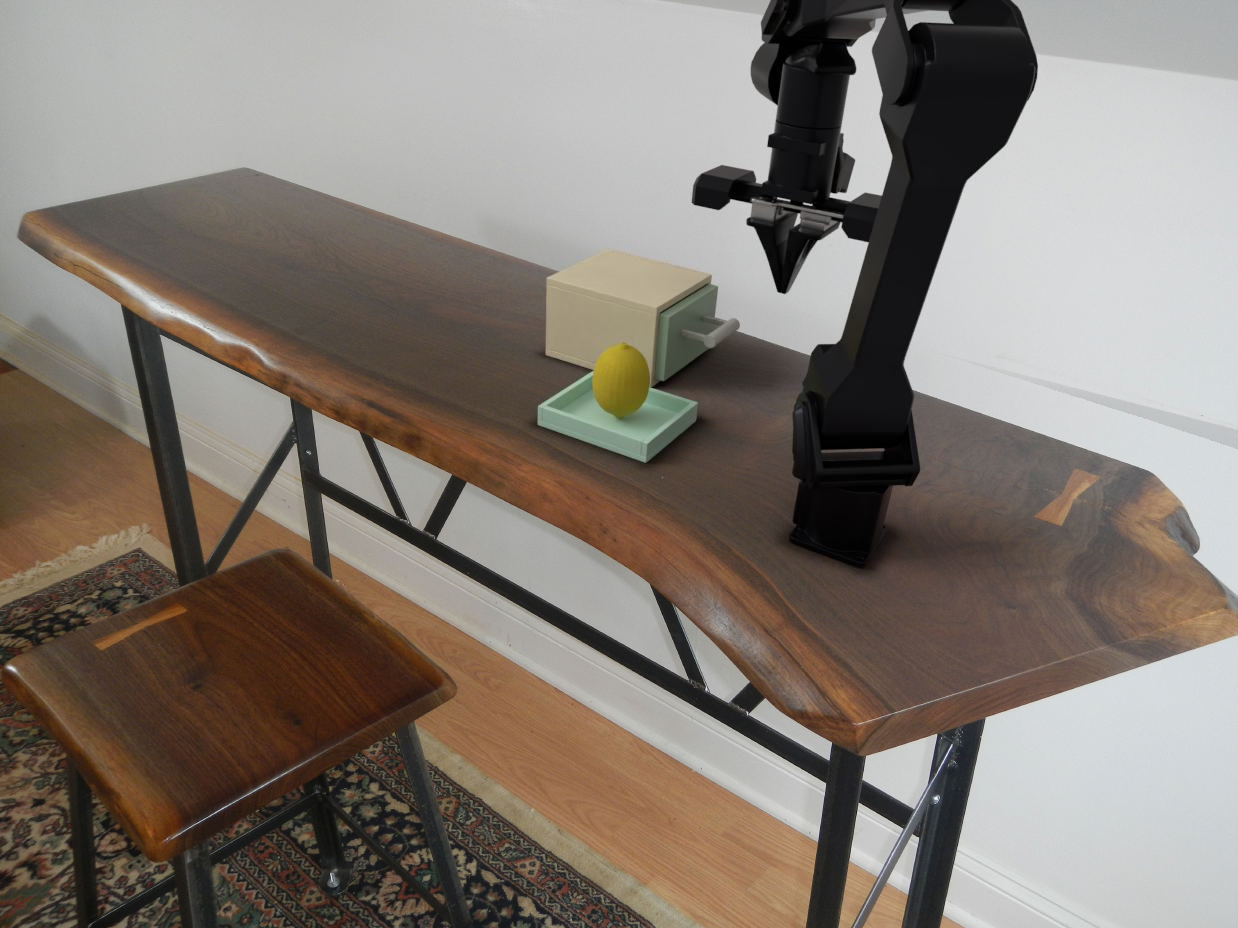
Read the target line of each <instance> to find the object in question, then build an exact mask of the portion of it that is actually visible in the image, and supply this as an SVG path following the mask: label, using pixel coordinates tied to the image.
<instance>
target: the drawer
mask: <svg viewBox="0 0 1238 928" xmlns="http://www.w3.org/2000/svg"><path fill="white" fill-rule="evenodd" d="M694 292H695V291H694ZM694 292H693V293H691V294H689V295H688V296H686V297H685V298H683V299H681V300H680V301H678V302H676V303H675V304H673V305H671V306H670V307H668V308H667V309H665V310H663V311H662V312H660V316H659V329H658V341H657V354H656V366H655V379H658V380H661V381H660V382H665V381H666V380H668V379H669V378H671V377H672V376H674V375H675V374H676V373H677V372H679V371H680V370H681V369H683V368H684V367H686V366H687V365H688V364H689V363H691V362H693V361H694V360H695V359H697V358H698V357H700V356H701V355H702V354H703V353H705V352H706V351H708V350H709V349H713V348H715V347H716V346H718V345H719V344H720V343H722V342H723V341H724V340H726V339H727V338H729V337H730V336H731V335H732V334H734V333H736V332H737V331H739V329H740V327H741V323H740V321H739V320H738V319H737V318H734V317H731V318H730V319H728V320H727V319H723V318H719V317H716V313H717V312H716V311H717V302H718V292H719V286H718V285H716V284H712V283H711V284H708V285H706V286H705V287H703V288H702V289H700V290H698V291H697V292H695V293H694ZM715 326H718V327H717V328H715ZM714 328H715V329H714Z"/></svg>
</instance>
